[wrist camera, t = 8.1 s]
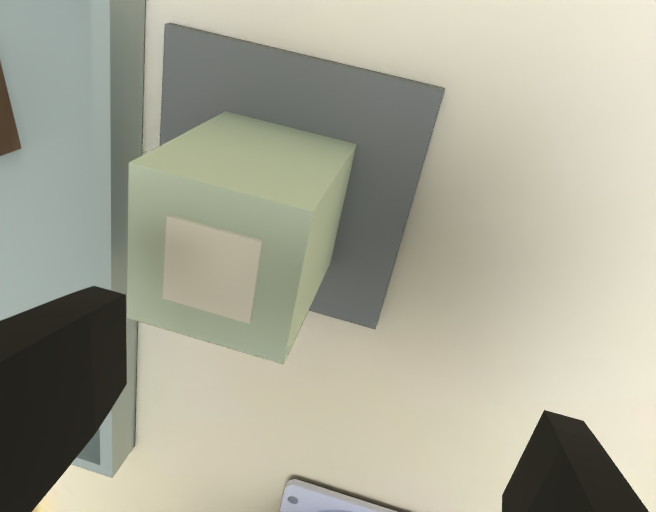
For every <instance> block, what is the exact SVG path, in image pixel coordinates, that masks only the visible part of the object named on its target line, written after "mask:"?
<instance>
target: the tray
mask: <svg viewBox="0 0 656 512" xmlns="http://www.w3.org/2000/svg"><path fill="white" fill-rule="evenodd" d="M144 33H145V0H0V61H1V65H2V70H3V74H4V78H5V82H6V86H7V90H8V94H9V98H10V102H11V106H12V111H13V115H14V119H15V123H16V127H17V131H18V135H19V139H20V143H21V149H19V150H16V151H13V152H10V153H8V154H5V155H2V156H0V321H1V320H3V319H6V318H9V317H11V316H14V315H16V314H19V313H21V312H24V311H27V310H29V309H32V308H34V307H37V306H39V305H42V304H44V303H47V302H50V301H52V300H55V299H57V298H60V297H63V296H65V295H68V294H71V293H73V292H76V291H79V290H82V289H85V288H88V287H91V286H97V287H101V288H104V289H108V290H111V291H115V292H119V293H122V294H126V343H127V385H126V386H125V388H124V389H123V391H122V393H121V394H120V396H119V398H118V399H117V401H116V403H115V404H114V406H113V407H112V409H111V411H110V412H109V414H108V415H107V417H106V418H105V420H104V421H103V423H102V425H101V426H100V428H99V429H98V431H97V432H96V434H95V435H94V436H93V437H92V439H91V440H90V441H89V442H88V444H87V445H86V446H85V447H84V449H83V450H82V451H81V452H80V454H79V455H78V456H77V457H76V458H75V460H74V461H73V462H72V463H71V464H72V465H75V466H78V467H81V468H84V469H87V470H90V471H93V472H96V473H99V474H102V475H105V476H108V477H111V478H113V476H114V475H115V473H116V472H117V471H118V469H119V468H120V466H121V465H122V463H123V462H124V461H125V459H126V458H127V456H128V455H129V453H130V452H131V451H132V449H133V448H134V446H135V412H136V370H137V328H138V321H136V320H132V319H129V318H127V270H128V181H129V162H131V161H133V160H135V159H137V158H138V157H140V156H142V117H143V75H144Z"/></svg>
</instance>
